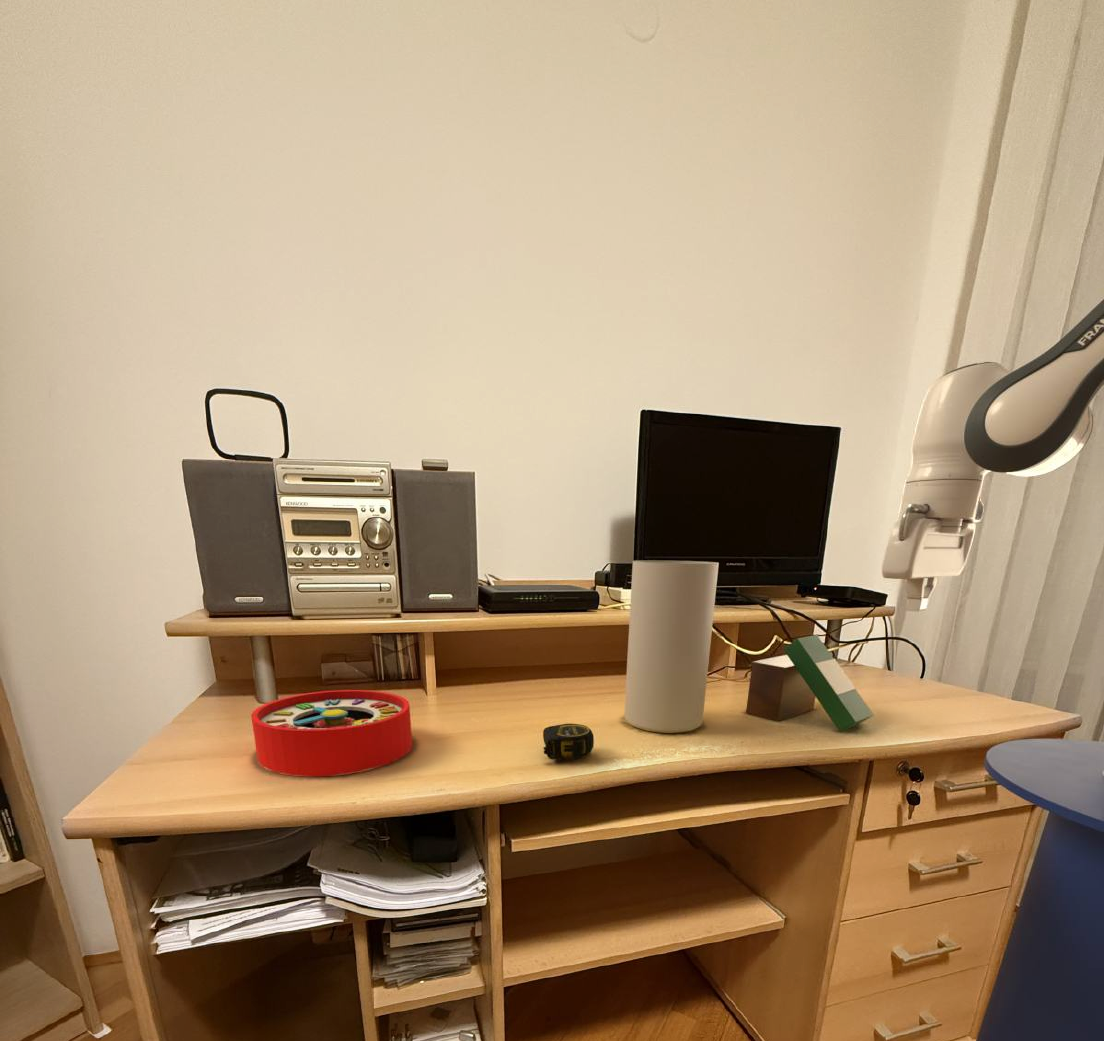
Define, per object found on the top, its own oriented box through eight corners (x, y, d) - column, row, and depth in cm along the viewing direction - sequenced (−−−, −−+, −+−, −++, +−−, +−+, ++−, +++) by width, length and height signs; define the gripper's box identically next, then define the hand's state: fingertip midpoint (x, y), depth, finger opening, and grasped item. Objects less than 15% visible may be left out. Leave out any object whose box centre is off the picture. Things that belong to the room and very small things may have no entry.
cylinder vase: (608, 720, 95) (615, 560, 87) (657, 707, 103) (668, 560, 95) (668, 740, 86) (683, 564, 78) (717, 724, 94) (735, 563, 86)
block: (813, 709, 103) (821, 659, 100) (777, 721, 96) (785, 667, 93) (782, 702, 108) (789, 654, 105) (745, 713, 100) (752, 661, 98)
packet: (871, 727, 94) (888, 644, 89) (853, 735, 90) (869, 648, 85) (793, 708, 103) (805, 633, 99) (773, 715, 99) (785, 636, 95)
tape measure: (542, 747, 82) (542, 721, 81) (590, 747, 83) (591, 721, 81) (543, 764, 76) (543, 737, 75) (595, 764, 76) (596, 737, 75)
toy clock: (439, 705, 80) (306, 742, 65) (441, 745, 82) (312, 790, 67) (353, 683, 92) (221, 710, 77) (356, 719, 94) (228, 752, 78)
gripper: (935, 501, 70) (910, 618, 74) (988, 509, 82) (965, 608, 87) (880, 503, 74) (860, 613, 79) (938, 510, 87) (918, 604, 91)
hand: (915, 610), depth 83 cm, fingers closed
